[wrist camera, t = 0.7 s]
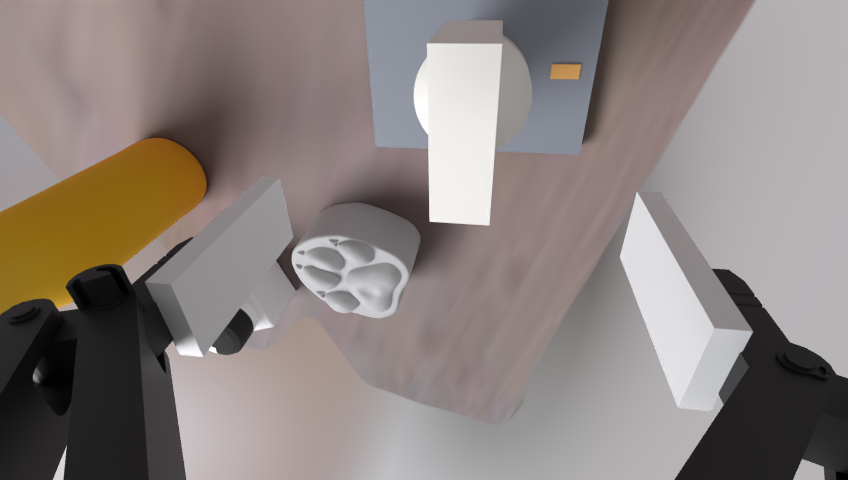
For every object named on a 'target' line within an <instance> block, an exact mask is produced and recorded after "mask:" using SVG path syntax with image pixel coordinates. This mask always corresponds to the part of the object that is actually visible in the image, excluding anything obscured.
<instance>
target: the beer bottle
mask: <svg viewBox="0 0 848 480" xmlns="http://www.w3.org/2000/svg"><path fill="white" fill-rule="evenodd" d="M206 187H207V182H206V177H205V173H204V171H203V168H202V167H201V165H200V163H199V162H198V160H197V159H196V158H195V157H194V156H193V155H192V154H191V153H190V152H189V151H188V150H187V149H186V148H184V147H183V146H181V145H179V144H178V143H176V142H174V141H171V140H168V139H163V138H150V139H144V140H141V141H139V142H137V143H135V144H132V145H131V146H129V147H127V148H125V149H124V150H122V151H120V152H118V153H117V154H115V155H113V156H111V157H109V158H107V159H105V160H103V161H101V162H99V163H97V164H95V165H93V166H91V167H89V168H87V169H85V170H83V171H81V172H79V173H77V174H75V175H73V176H71V177H69V178H67V179H65V180H63V181H61V182H60V183H58V184H56V185H54V186H52V187H50V188H48V189H46V190H44V191H42V192H40V193H38V194H36V195H34V196H32V197H30V198H28V199H26V200H24V201H22V202H20V203H18V204H16V205H14V206H12V207H10V208H8V209H6V210H4V211H2V212H0V315H1V314H2V313H3V312H5V311H6V310H8V309H10V308H11V307H12V306H14V305H16V304H17V305H18V304H19V303H21V302H24V301H30V300H33V299H42V298H45V299H50V300H52V302H53V303H54V304H55V306H56V307H57V308H59V307H62V306H65V305H67V304H69V303H71V302H74V300H73V299H72V297H71V296H70V294H69V292H68V291H67V289H66V288H65V287H66V285H67V283H68V281H69V280H71V279H72V278H73V277H74V276H75V275H77V274H79V273H81V272H83V271H84V270H87V269H90V268H92V267H95V266H99V265H104V264H117V265H120V266H122V265H123V264H125V263H126V262H127V261H128V260H130V259H131V258H132V257H133V256H134V255H136V254H137V253H138V252H139V251H141V250H142V249H143V248H144V247H146V246H147V245H148V244H149V243H151V242H152V241H153V240H154V239H156V238H157V237H158V236H159V235H160V234H162V233H163V232H164V231H165V230H167V229H168V228H169V227H170V226H172V225H173V224H174V223H175V222H177V221H178V220H179V219H180V218H182V217H183V216H184V215H186V214H187V213H188V212H190V211H191V210H192V209H194V208H195V207H196V206H197V205H198V204H199V203H200V202H201V200H202V199H203V197H204V195H205V193H206Z"/></svg>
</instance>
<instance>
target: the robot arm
mask: <svg viewBox="0 0 848 480" xmlns="http://www.w3.org/2000/svg"><path fill="white" fill-rule="evenodd" d="M292 239H293V233H292V229H291V224H290V220H289V216H288V211H287V207H286V203H285V198H284V194H283V190H282V185H281V181H280V177H261V178H259V179H258V180H257V181H256V182H255V183H254V184H253V185H252V186H251V187H249V188H248V189H247V190H246V191H245V192H244V193H243V194H242V195H241V196H239V197H238V198H237V199H236V200H235V201H234V202H233V203H232V204H231V205H230V206H228V207H227V208H226V209H225V210H224V211H223V212H222V213H221V214H220V215H218V216H217V217H216V218H215V219H214V220H213V221H212V222H211V223H210V224H209V225H207V226H206V227H205V228H204V229H203V230H202V231H201V232H200V233H199V234H197V235H196V236H195V237H191V238H189V239H187V240H185V241H184V242H182V243H180V244H178V245H176V246H175V247H174V248H173V249H172V250H171V251H169V252H168V253H167V254H166V257H165V256H164V257H163V258H162V259H160V260H159V261H158V262H157V264H155V265H154V266H152V267H151V268H150V269H149V270H148V271H147V272H146V273H145V274H143V275H142V276H141V277H140V278H139V279H138V280H137V281H135V282H134V283H133V284H132V285H131V283H130V281H129V279H128V277H127V275H126V273H125V271H124V269H123V268H122V266H120V265H117V264H104V265H99V266H95V267H92V268H90V269H87V270H84V271H83V272H81V273H79V274H77V275H75V276H74V277H73V278H72V279H71V280H69V281H68V283H67V285H66V287H65V288H66V289H67V291H68V292H69V294H70V296H71V297H72V299H73V300H74V302H75V304H76V305H77V307H78V309H75V310H68V311H60V312H59V311H58V309H57V307H56V306H55V304H54V303H53V302H52V300H50V299H45V298H42V299H33V300H30V301H24V302H21V303H19V304H18V305H17V304H16V305H14V306H12V307H11V308H10V309H8V310H6V311H5V312H3V313H2V314H1V315H0V480H53V477H54V475H55V473H56V470H57V468H58V465H59V463H60V460H61V458H62V455H63V453H64V450H65V448H66V446H67V450H66V460H65V471H64V480H186V475H185V468H184V461H183V455H182V447H181V440H180V433H179V426H178V419H177V412H176V405H175V398H174V391H173V384H172V378H171V370H170V363H169V358H168V356H167V354H166V352H165V349H166V347H168V345H169V344H170V343H171V342H172V341H174V343H175V346H176V347H177V350H178V352H179V354H180V355H189V356H198V357H204V355H205V354H206V353H207V351H208V350H209V349H210V347H211V346H212V345H213V343H214V342H215V341H216V339H217V338H218V337H219V335H220V334H221V333H222V331H223V330H224V329H225V328H226V326H227V325H228V324H229V322H230V321H231V320H232V318H233V317H234V316H235V314H236V313H237V312H238V310H239V309H240V308H241V306H242V305H243V304H244V302H245V301H246V300H247V298H248V297H249V296H250V294H251V293H252V292H253V290H254V289H255V288H256V286H257V285H258V284H259V282H260V281H261V280H262V278H263V277H264V276H265V274H266V273H267V272H268V270H269V269H270V268H271V266H272V265H273V264H274V262H275V261H276V260H277V258H278V257H279V256H280V254H281V253H282V252H283V250H284V249H285V248H286V246H287V245H288V244H289V243H290V241H291V240H292ZM620 258H621V261H622V264H623V266H624V269H625V271H626V274H627V277H628V279H629V282H630V284H631V287H632V290H633V292H634V295H635V297H636V300H637V303H638V305H639V308H640V310H641V313H642V315H643V318H644V321H645V323H646V326H647V329H648V331H649V334H650V336H651V339H652V341H653V344H654V347H655V349H656V352H657V355H658V357H659V360H660V362H661V365H662V367H663V370H664V373H665V375H666V378H667V380H668V383H669V386H670V388H671V391H672V393H673V396H674V399H675V401H676V404H677V406H678V408H685V409H694V410H704V411H711V410H712V408H713V406H714V404H715V403H716V401H717V399H718V397H719V396H720V398H721V400H722V402H723V404H724V406H723V407H722V409H721V410H720V412H719V413H718V415H717V416H716V418H715V419H714V421H713V422H712V424H711V425H710V427H709V428H708V430H707V431H706V433H705V434H704V436H703V437H702V439H701V440H700V442H699V443H698V445H697V446H696V448H695V449H694V451H693V453H692V454H691V456H690V457H689V459H688V460H687V462H686V463H685V465H684V466H683V468H682V469H681V471H680V472H679V474H678V475H677V477H676V478H675V480H793V478H794V476H795V474H796V471H797V469H798V467H799V464H800V462H801V460H802V459H804V460H807V461H810V462H812V463H815V464H818V465H821V466H823V467H824V475H825V480H848V378H845V377H842V376H838V375H836V373H835V372H834V370H833V369H832V367H831V366H830V364H829V363H827V362H826V361H825V360H824V359H823V358H821V357H820V356H819V355H817V354H816V353H814V352H812V351H810V350H808V349H807V348H804V347H801V346H799V345H796V344H793V343H790V342H789V341H788V339H787V338H786V336H785V335H784V334H783V332H782V331H781V330H780V328H779V327H778V326H777V324H776V323H775V322H774V320H773V319H772V317H771V316H770V315H769V313H768V312H767V311H766V309H765V308H762V304H761V303H760V301H759V300H758V299H757V297H754V293H753V292H752V291H751V289H750V288H749V286H748V285H747V284H746V282H745V281H743V280H742V279H741V278H739V277H738V276H736V275H735V274H734V273H732V272H731V271H730V270H724V269H711V267H710V266H709V264H708V263H707V261H706V260H705V258H704V257H703V256H702V254H701V252H700V251H699V249H698V248H697V246H696V245H695V243H694V242H693V240H692V239H691V237H690V236H689V234H688V233H687V231H686V230H685V228H684V227H683V225H682V224H681V222H680V221H679V219H678V218H677V216H676V215H675V213H674V212H673V210H672V209H671V207H670V206H669V204H668V203H667V201H666V200H665V198H664V197H663V195H662V194H661V193H659V192H637V194H636V198H635V202H634V206H633V209H632V213H631V217H630V221H629V225H628V229H627V232H626V236H625V240H624V244H623V247H622V251H621V255H620Z"/></svg>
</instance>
